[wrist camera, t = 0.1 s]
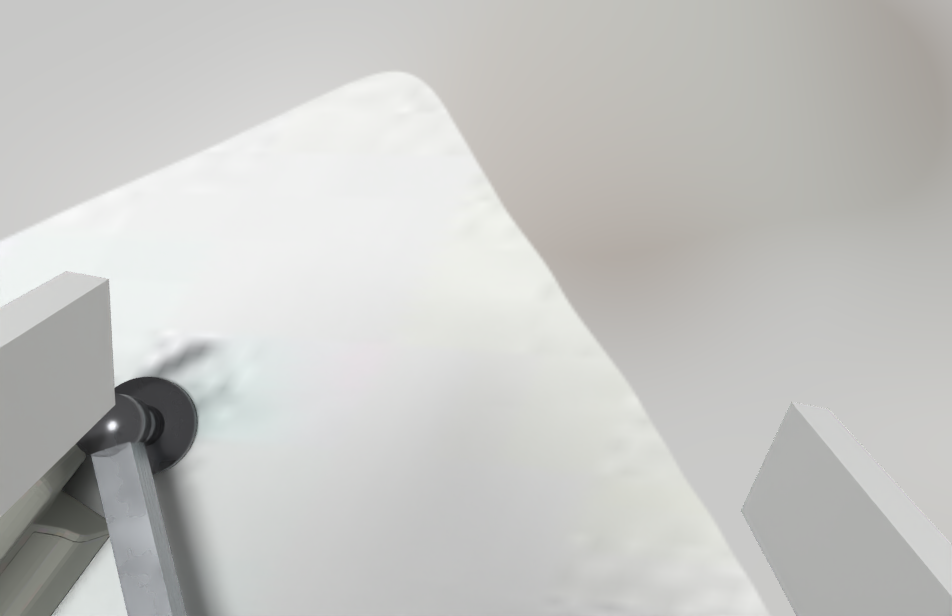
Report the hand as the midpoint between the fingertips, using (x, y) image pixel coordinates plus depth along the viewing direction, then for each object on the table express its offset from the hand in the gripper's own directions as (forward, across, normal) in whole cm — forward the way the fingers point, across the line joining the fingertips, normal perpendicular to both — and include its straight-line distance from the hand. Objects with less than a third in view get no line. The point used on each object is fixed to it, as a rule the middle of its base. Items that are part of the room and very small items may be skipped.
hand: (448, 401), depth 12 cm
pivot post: (+27, +20, +24) cm, 41 cm away
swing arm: (+19, +16, +28) cm, 37 cm away
